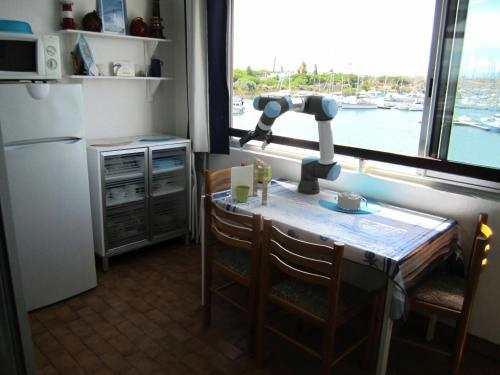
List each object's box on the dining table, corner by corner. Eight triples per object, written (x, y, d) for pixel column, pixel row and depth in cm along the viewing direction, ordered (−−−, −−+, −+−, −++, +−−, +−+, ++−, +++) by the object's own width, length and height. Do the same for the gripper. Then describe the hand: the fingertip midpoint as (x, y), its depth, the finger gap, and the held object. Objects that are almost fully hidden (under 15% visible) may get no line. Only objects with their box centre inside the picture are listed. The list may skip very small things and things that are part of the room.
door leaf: (231, 198, 250) (231, 167, 245) (229, 196, 253) (229, 166, 247) (252, 195, 257) (253, 165, 251) (250, 194, 259) (251, 165, 254)
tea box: (246, 187, 278) (246, 166, 274) (250, 183, 287) (251, 163, 283) (267, 189, 274) (268, 168, 270) (271, 185, 283) (271, 165, 279)
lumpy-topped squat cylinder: (353, 211, 234) (355, 197, 231) (333, 206, 242) (334, 192, 239) (361, 207, 241) (363, 193, 239) (342, 202, 249) (343, 189, 247)
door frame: (266, 204, 242) (268, 164, 235) (263, 205, 241) (264, 165, 234) (256, 194, 261) (257, 157, 254) (252, 195, 260) (253, 157, 253)
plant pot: (248, 203, 243) (248, 190, 240) (232, 202, 245) (233, 188, 242) (251, 199, 252) (251, 185, 249) (236, 198, 253) (236, 184, 251)
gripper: (244, 132, 207) (233, 156, 224) (287, 130, 217) (273, 153, 234) (240, 120, 210) (229, 145, 227) (282, 119, 221) (269, 142, 238)
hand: (251, 149), depth 231 cm, fingers open, 13 cm apart
